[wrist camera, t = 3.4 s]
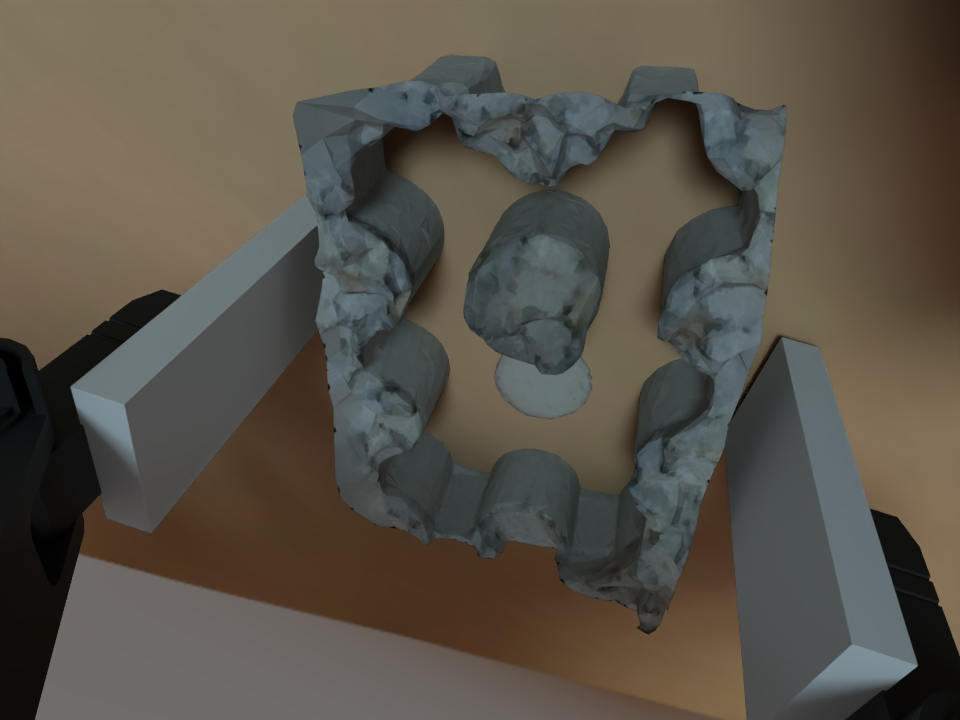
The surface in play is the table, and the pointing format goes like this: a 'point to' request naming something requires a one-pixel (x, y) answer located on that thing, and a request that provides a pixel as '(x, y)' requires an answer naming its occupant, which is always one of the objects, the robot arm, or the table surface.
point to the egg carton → (533, 319)
